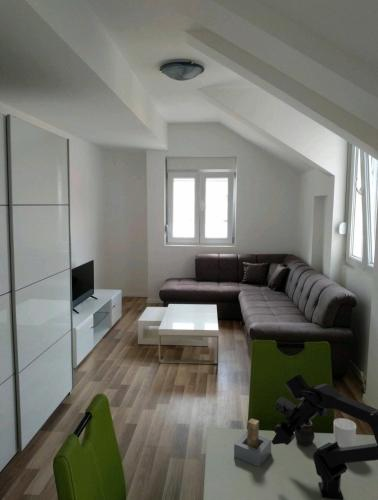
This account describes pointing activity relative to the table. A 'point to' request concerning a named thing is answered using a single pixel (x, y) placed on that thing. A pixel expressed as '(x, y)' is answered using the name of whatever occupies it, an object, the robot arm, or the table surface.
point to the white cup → (344, 432)
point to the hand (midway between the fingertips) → (278, 436)
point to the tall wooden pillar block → (253, 433)
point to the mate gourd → (305, 434)
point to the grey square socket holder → (252, 450)
